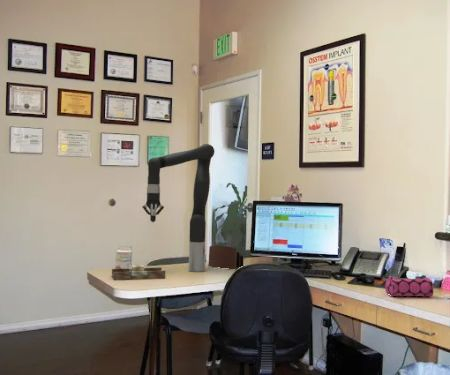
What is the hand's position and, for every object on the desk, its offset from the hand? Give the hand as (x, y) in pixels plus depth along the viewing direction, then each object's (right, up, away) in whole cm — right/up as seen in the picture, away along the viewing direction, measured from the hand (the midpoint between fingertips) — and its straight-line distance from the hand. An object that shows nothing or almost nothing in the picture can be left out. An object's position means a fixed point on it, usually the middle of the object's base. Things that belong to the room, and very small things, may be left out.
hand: (152, 221), depth 285 cm
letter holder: (+42, -30, +20) cm, 56 cm away
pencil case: (+130, -32, -51) cm, 143 cm away
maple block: (-5, -27, -19) cm, 33 cm away
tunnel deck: (-5, -29, -20) cm, 35 cm away
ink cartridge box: (-17, -28, -2) cm, 33 cm away
